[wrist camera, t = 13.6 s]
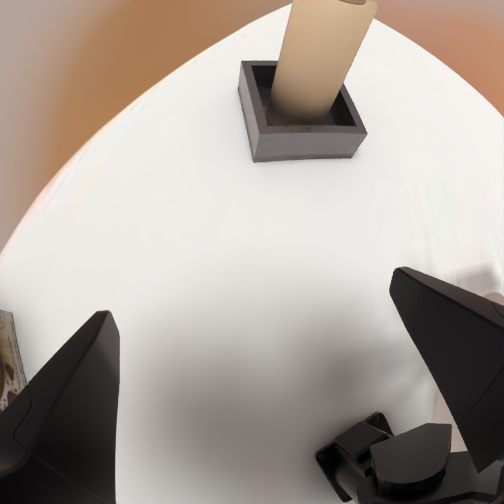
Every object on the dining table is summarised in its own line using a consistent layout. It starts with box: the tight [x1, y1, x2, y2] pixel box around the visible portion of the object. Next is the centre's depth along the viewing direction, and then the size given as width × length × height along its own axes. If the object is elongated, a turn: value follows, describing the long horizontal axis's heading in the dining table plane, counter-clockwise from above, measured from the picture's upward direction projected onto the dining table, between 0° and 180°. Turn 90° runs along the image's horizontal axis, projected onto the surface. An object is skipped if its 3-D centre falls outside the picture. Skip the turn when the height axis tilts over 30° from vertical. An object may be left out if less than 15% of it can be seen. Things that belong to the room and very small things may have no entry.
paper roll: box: [267, 0, 378, 126], centre depth 20 cm, size 6×6×14 cm
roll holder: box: [238, 61, 367, 162], centre depth 26 cm, size 10×10×4 cm
